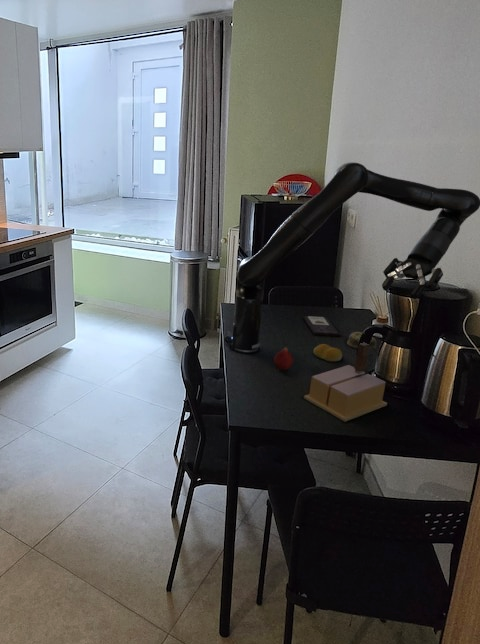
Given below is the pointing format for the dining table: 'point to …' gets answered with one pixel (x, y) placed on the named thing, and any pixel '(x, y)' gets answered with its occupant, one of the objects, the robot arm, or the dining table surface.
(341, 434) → the dining table surface
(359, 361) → the cake knife
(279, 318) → the dining table surface
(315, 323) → the chocolate bar
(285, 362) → the onion
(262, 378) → the dining table surface
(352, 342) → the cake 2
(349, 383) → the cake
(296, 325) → the dining table surface
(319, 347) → the bread roll
